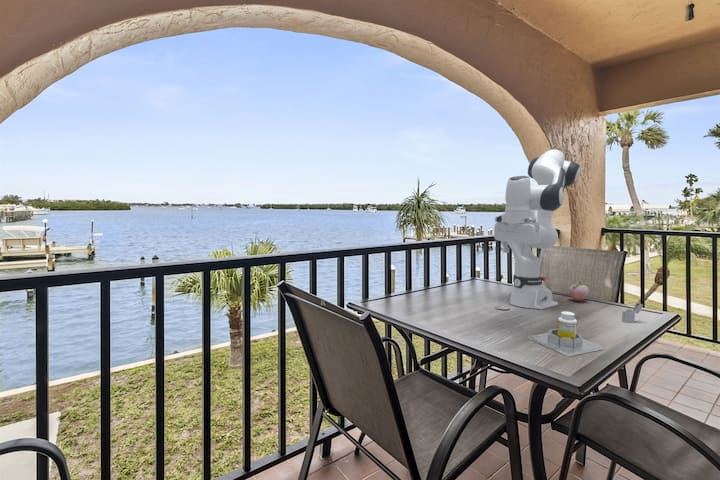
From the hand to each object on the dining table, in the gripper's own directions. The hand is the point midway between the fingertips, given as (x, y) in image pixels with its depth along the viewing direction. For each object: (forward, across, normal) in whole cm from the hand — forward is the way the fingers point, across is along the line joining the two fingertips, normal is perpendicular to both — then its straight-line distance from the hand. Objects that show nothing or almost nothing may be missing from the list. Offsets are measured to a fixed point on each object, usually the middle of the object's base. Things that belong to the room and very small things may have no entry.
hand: (515, 254), depth 136 cm
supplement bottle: (+28, -21, -4) cm, 35 cm away
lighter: (+29, -13, -51) cm, 60 cm away
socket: (+29, -20, -4) cm, 35 cm away
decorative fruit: (+29, +17, -59) cm, 68 cm away
